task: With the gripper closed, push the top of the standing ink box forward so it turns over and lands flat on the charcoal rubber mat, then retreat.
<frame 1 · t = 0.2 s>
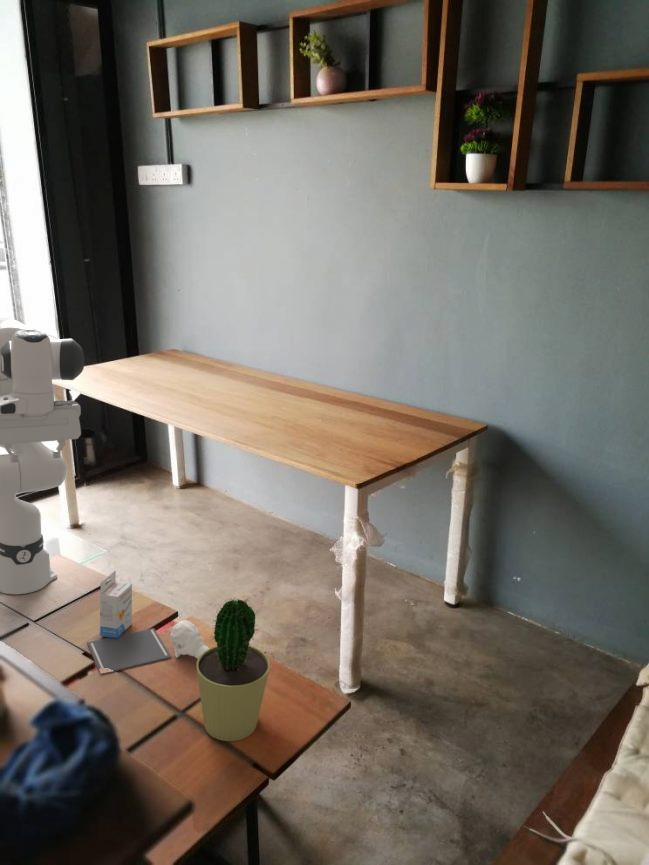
hand: (35, 459, 162), 47 cm above the table, fingers open, 8 cm apart
mat: (128, 650, 172), on the table
potted cactus: (230, 724, 149), on the table
ink box: (116, 630, 180), on the table, touching mat
white irregular lumpy piece: (193, 658, 171), on the table
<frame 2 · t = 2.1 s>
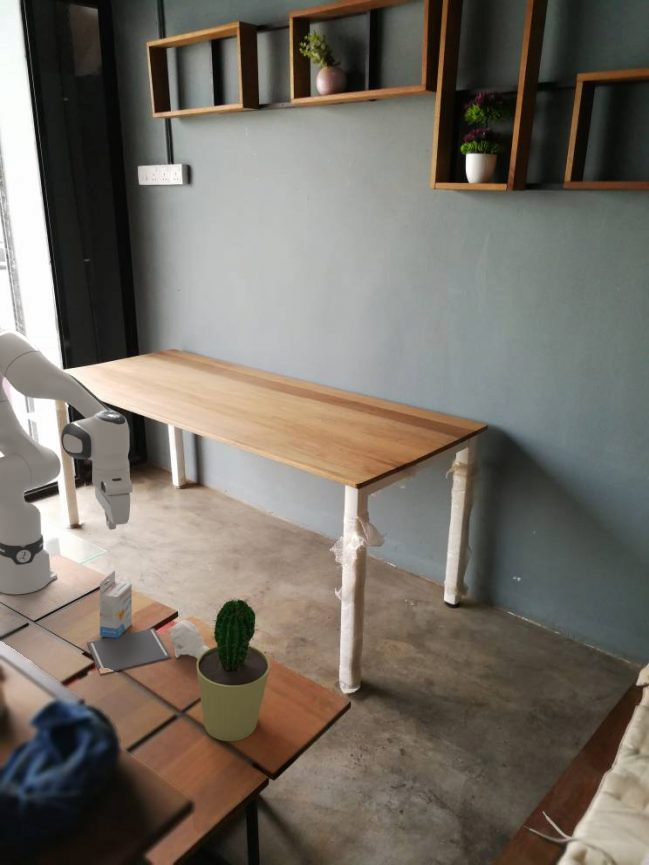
hand: (111, 527, 176), 27 cm above the table, fingers closed
nothing on the table moved.
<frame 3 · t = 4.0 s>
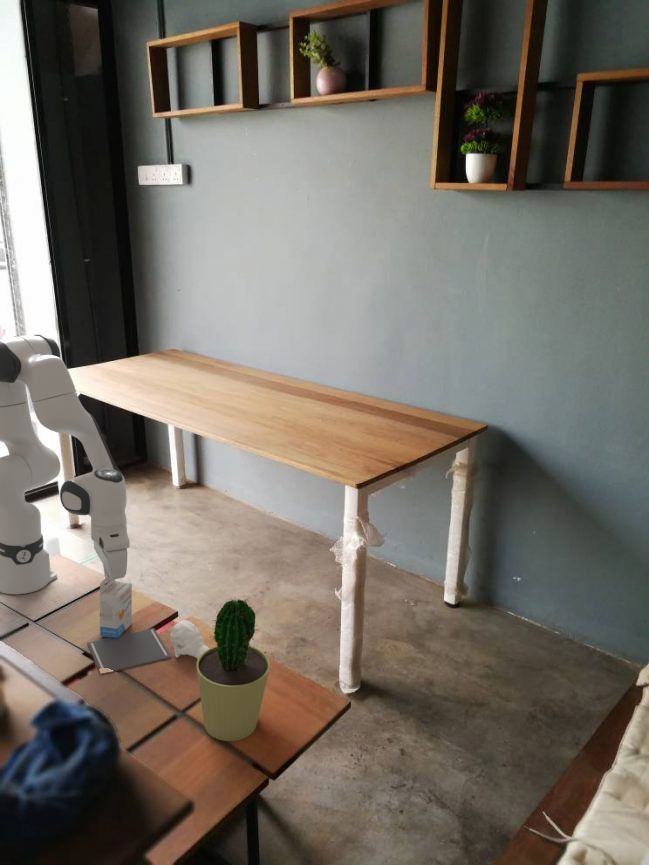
hand: (109, 578, 183), 11 cm above the table, fingers closed
ink box: (116, 630, 180), on the table, touching gripper, mat
everything else where it was.
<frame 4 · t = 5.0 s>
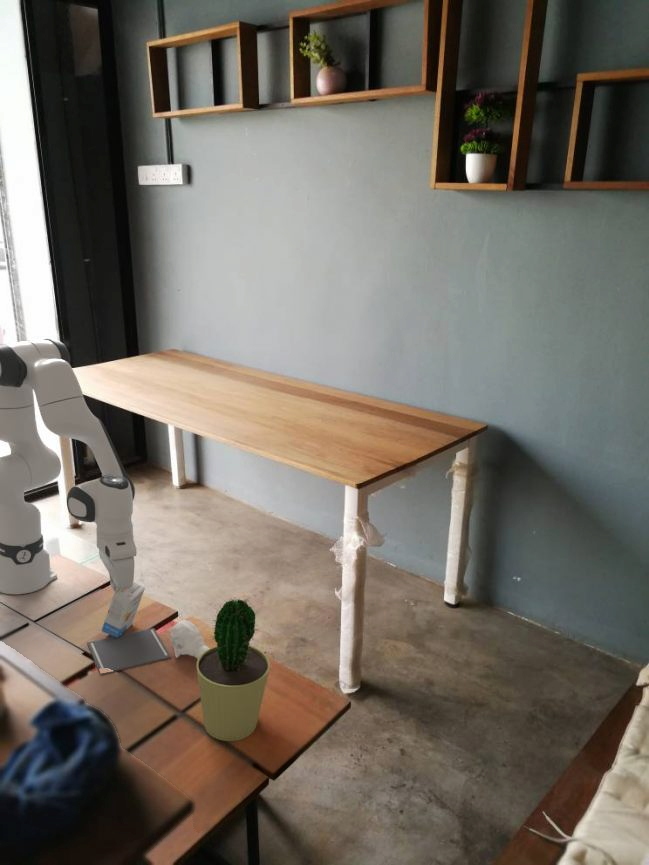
hand: (115, 588, 178), 11 cm above the table, fingers closed
ink box: (116, 628, 179), point 1 cm above the table, touching mat
everything else where it was.
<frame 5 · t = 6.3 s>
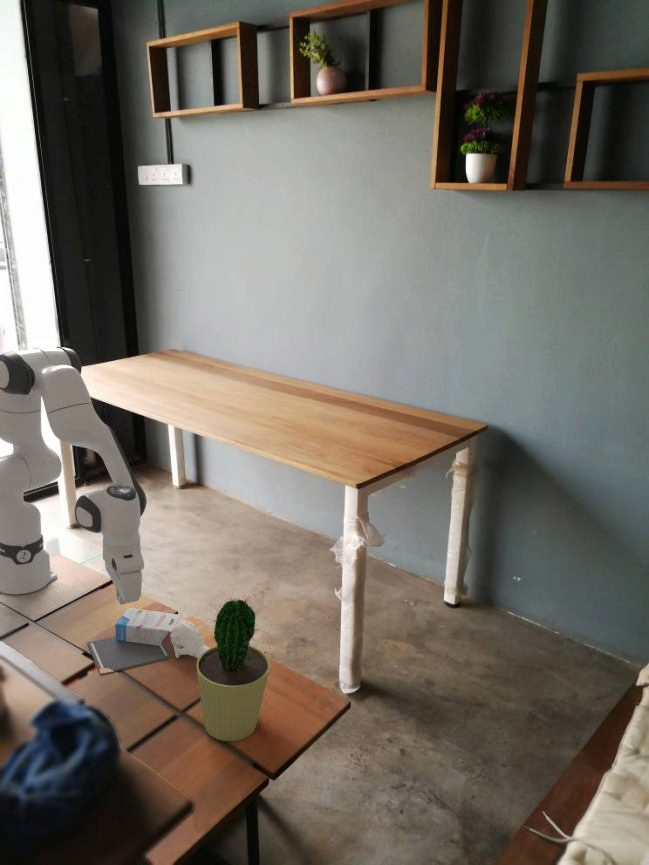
hand: (121, 601, 172), 11 cm above the table, fingers closed
ink box: (121, 623, 178), point 3 cm above the table, touching mat
everything else where it was.
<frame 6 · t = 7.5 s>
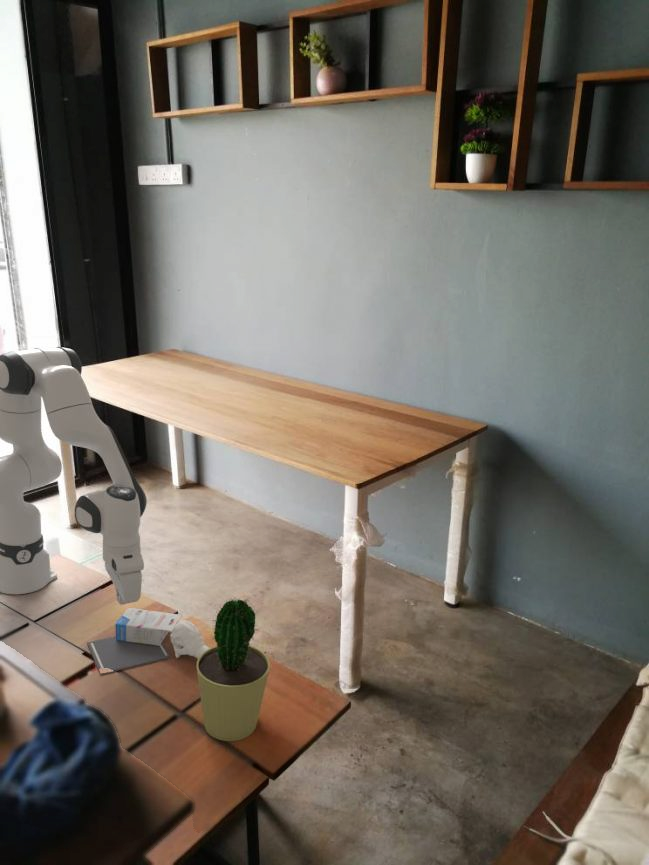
hand: (121, 601, 172), 11 cm above the table, fingers closed
nothing on the table moved.
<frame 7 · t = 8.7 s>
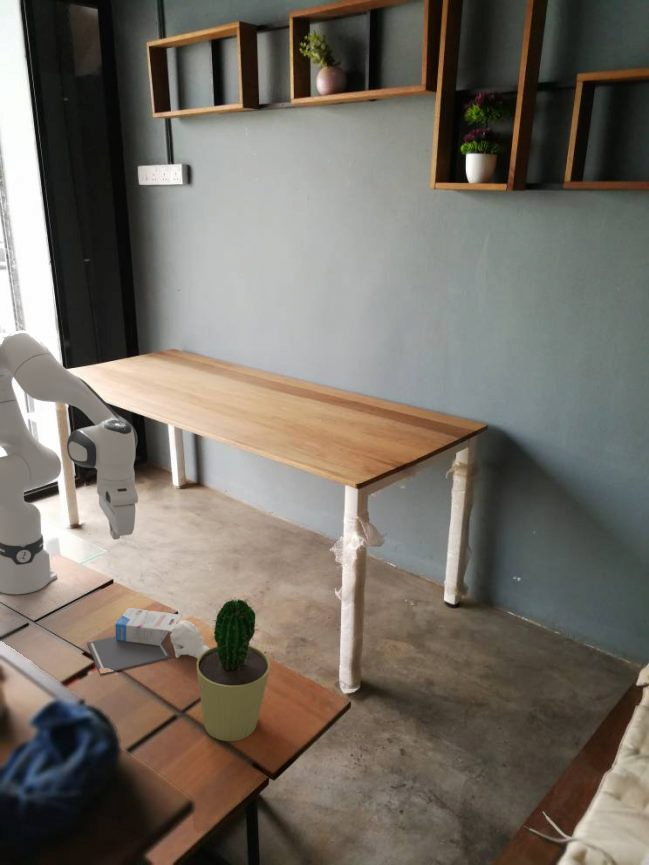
hand: (114, 537, 173), 26 cm above the table, fingers closed
nothing on the table moved.
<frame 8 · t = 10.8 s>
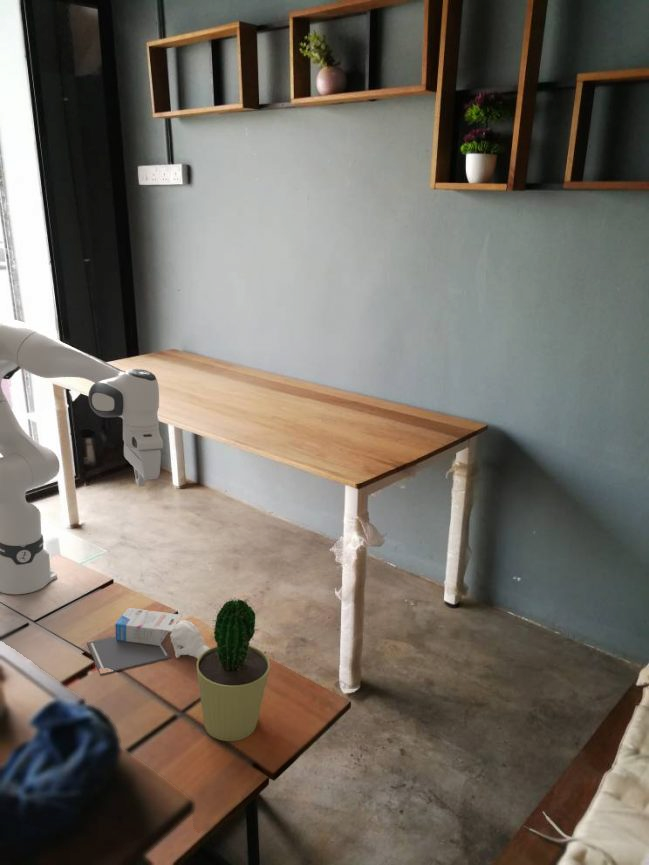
hand: (140, 484, 179), 37 cm above the table, fingers closed
nothing on the table moved.
at the end: ink box tilted 89°; ink box inside the target area (8.0 cm from its centre), point 2.8 cm above the table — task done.
